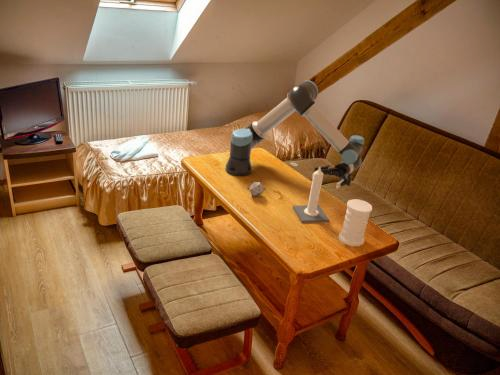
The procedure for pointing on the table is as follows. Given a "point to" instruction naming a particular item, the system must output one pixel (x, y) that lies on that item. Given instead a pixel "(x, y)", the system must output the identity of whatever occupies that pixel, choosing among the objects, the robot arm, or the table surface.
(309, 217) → the slate tile
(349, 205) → the decorative container
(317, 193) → the candle
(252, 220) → the table surface
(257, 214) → the table surface
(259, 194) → the game die
